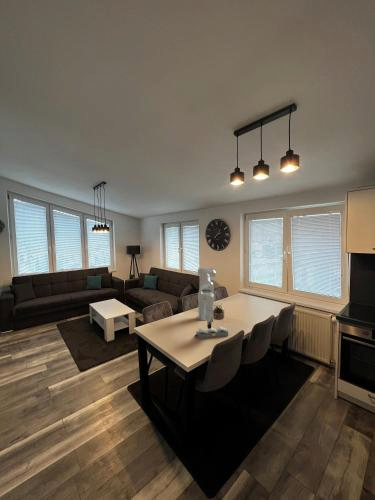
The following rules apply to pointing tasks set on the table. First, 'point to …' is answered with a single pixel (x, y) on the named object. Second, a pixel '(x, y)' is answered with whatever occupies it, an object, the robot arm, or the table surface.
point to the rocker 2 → (222, 328)
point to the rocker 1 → (202, 330)
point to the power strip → (211, 334)
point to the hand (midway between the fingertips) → (209, 328)
